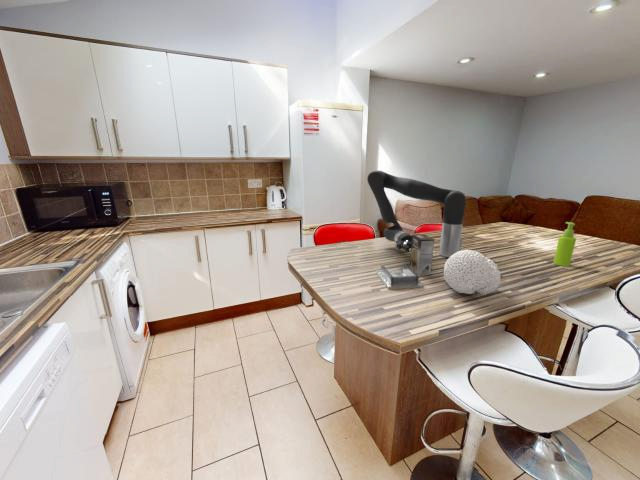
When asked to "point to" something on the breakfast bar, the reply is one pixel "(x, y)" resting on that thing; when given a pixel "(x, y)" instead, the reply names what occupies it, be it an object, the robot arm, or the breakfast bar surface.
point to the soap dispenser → (565, 247)
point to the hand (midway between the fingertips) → (417, 249)
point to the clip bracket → (399, 278)
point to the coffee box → (421, 254)
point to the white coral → (471, 273)
